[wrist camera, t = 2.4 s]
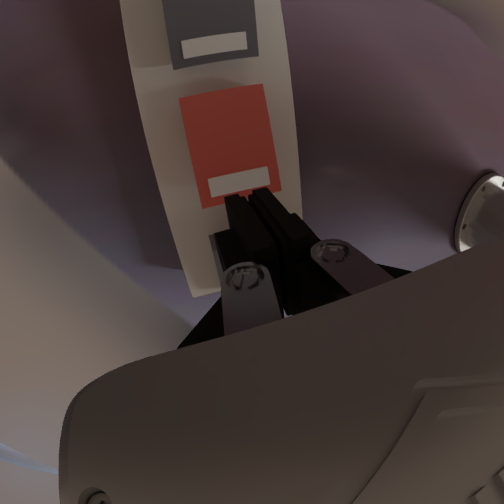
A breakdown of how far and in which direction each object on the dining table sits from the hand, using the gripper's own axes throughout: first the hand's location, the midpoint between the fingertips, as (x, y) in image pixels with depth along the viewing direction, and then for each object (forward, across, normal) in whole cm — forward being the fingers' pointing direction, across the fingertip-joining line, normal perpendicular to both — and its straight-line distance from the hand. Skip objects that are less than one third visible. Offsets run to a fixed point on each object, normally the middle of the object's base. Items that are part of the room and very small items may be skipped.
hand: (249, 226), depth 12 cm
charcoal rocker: (+6, -1, -10) cm, 12 cm away
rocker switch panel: (+11, -1, -2) cm, 11 cm away
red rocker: (+6, -1, -2) cm, 7 cm away
